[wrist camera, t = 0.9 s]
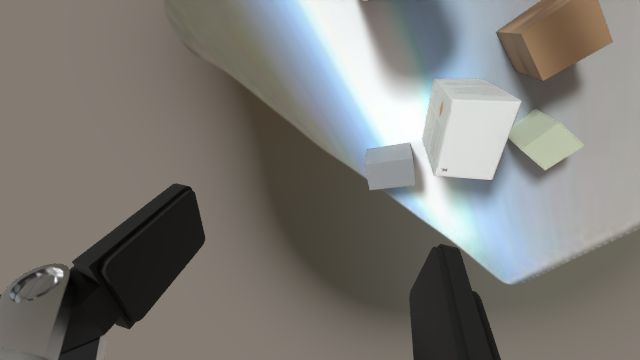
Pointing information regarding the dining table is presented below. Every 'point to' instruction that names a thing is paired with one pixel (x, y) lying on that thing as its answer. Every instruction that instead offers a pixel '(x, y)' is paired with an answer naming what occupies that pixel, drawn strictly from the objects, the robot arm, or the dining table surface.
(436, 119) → the small box
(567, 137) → the sage block
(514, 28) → the walnut block
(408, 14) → the dining table surface
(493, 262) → the dining table surface
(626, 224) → the dining table surface
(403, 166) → the slate block
